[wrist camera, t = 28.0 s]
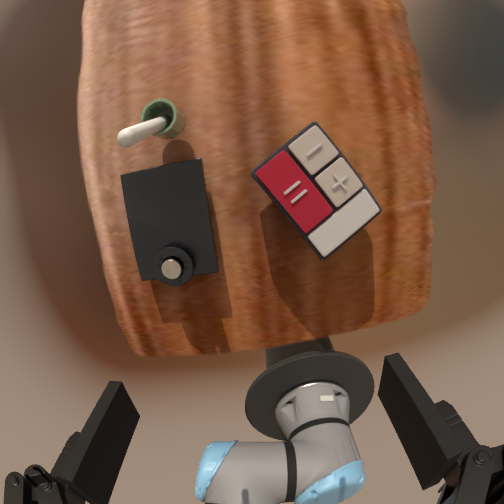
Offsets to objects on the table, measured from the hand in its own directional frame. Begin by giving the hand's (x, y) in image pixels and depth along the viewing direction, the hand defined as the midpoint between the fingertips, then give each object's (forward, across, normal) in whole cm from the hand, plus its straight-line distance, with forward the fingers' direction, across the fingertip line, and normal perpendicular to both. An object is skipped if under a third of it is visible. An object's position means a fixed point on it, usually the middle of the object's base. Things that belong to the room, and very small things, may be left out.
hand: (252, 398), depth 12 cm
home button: (+27, -11, -1) cm, 29 cm away
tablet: (+29, -11, +5) cm, 31 cm away
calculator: (+29, +10, +7) cm, 31 cm away
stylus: (+28, -9, +19) cm, 35 cm away
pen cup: (+29, -9, +19) cm, 36 cm away
